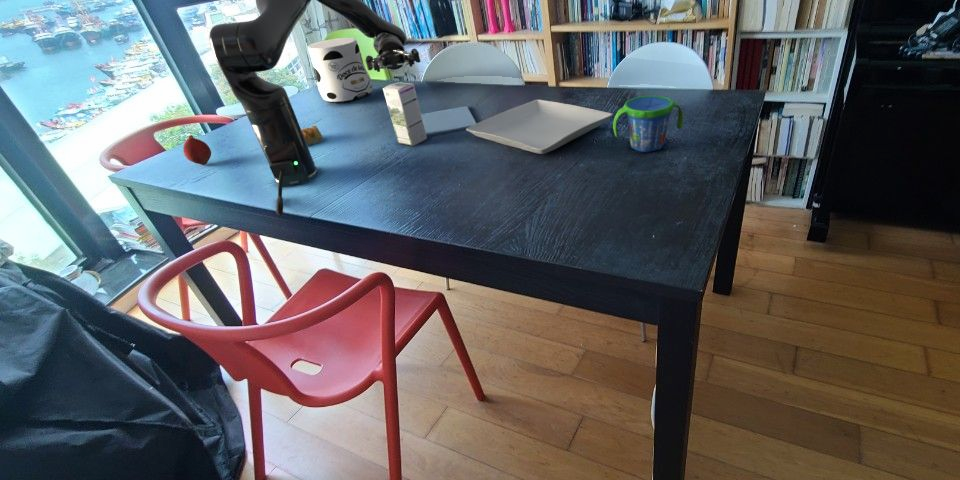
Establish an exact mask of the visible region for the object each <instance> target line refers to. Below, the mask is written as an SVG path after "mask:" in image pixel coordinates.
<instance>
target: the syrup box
mask: <svg viewBox="0 0 960 480" xmlns="http://www.w3.org/2000/svg"><path fill="white" fill-rule="evenodd" d="M382 91H383V95H384V98H385V102H386V105H387V109H388V113H389V115H390V120H391V124H392V126H393V130H394V134H395V138H396V141H397V143H398V144H401V145H407V146H412V147H414V146H416V145H418V144H420V143H422V142H424V141H425V140H427V139H428V136H427V134H426V131H425V127H424V123H423V120H422V116H421V114H422V112H421V108H420V104H419V100H418V95H417V91H416V87H415V83H412V82H411V83H410V82H402V81H395V82H393V83H391V84H388V85H386V86H384V87H382Z"/></svg>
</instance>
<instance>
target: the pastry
mask: <svg viewBox="0 0 960 480" xmlns="http://www.w3.org/2000/svg"><path fill="white" fill-rule="evenodd" d="M301 131H302V133H303V136H304V138H305V141H306V144H307V146H312V145H314V144H319V143H321V142H323V141H324V137H323V134H322V133H321V131H320V130H319V128H318V126H317V125H312V126H311V127H306V128H301Z"/></svg>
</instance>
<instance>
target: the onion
mask: <svg viewBox="0 0 960 480" xmlns="http://www.w3.org/2000/svg"><path fill="white" fill-rule="evenodd" d="M182 146H183V147H182V149H183V156H184V157H185V158H186V159H187V160H188V161H189V162H191V163H194V164H196V165H197V164H198V165H200V166H201V165H202V166H205V165H207V164H208V162H209V160H210V159H211V156H212V151H211V148H210V146H209V145H208V144H207V143H206V142H205V141H203V140H201V139H198V138H196V137H194V136H193V134H189V135H188V136H187V139H186V140H185V142H184V144H183V145H182Z"/></svg>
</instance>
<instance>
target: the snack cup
mask: <svg viewBox="0 0 960 480" xmlns="http://www.w3.org/2000/svg"><path fill="white" fill-rule="evenodd" d="M675 107H676V108H677V122H676V128H677V129H678V130H681V129H682V128H683V124H684V112H683V109H682V107H681V105H679V104H678V103H677V102H675V101H674V100H673V99H672V98H670V97H667V96H664V95H654V94H652V95H651V94H650V95H649V94H648V95H640V96H636V97H632V98H630V99H628V100H627V101H626V102H625V103H624V105H623V106H622V107H621V108H620V109H618V111H617V112H616V114H615V116H614V118H613V122H612V130H613V133H614V136H615V137H616V138H618V137H619V135H618V127H617V126H618V125H617V123H618V120H619V119H620V117H621V116H622V115H623V114H625V118H626V121H627V126H628V128H627V129H628V136H629V143H630V147H631V148H632V149H634V150H635V151H638V152H641V153H651V152H655V151H660V150H661V149H662V148H663V147H664V145H665V142H666V137H667V132H668V128H669V123H670V118H671V115H672V113H673V110H674V108H675Z"/></svg>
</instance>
